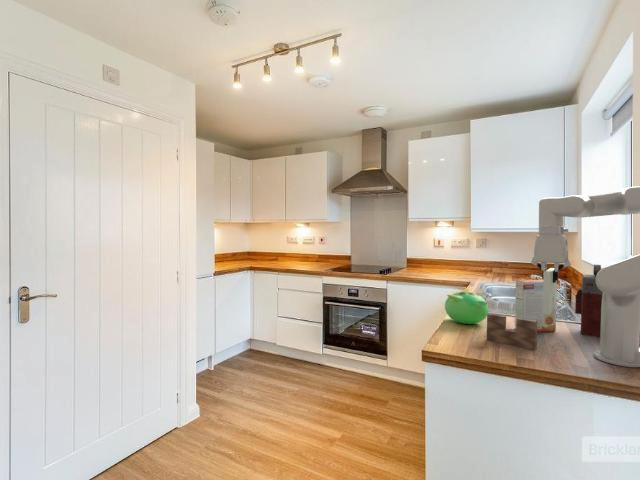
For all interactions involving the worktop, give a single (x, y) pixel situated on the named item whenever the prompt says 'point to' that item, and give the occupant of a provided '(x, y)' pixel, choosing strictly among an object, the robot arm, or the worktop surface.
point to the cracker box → (533, 304)
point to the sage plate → (549, 292)
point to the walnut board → (512, 331)
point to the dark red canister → (589, 304)
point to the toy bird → (466, 307)
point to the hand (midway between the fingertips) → (550, 281)
